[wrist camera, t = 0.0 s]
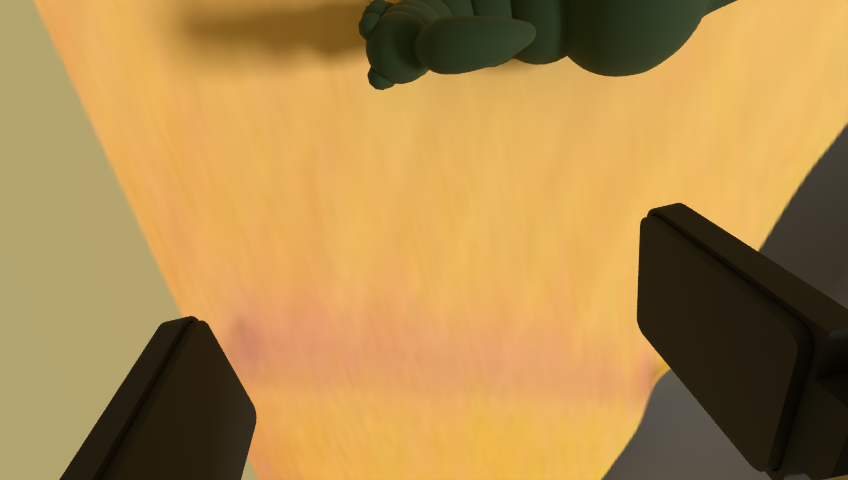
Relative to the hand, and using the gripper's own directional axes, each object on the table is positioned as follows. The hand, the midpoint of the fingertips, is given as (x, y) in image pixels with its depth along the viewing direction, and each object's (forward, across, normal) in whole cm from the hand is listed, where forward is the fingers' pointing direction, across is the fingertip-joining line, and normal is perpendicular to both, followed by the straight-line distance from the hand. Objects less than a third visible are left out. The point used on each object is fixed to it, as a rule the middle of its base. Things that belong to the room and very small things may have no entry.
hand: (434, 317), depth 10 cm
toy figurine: (+32, -12, -3) cm, 34 cm away
